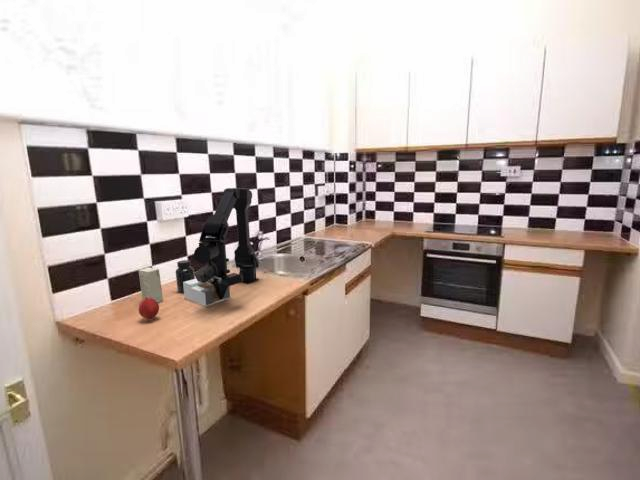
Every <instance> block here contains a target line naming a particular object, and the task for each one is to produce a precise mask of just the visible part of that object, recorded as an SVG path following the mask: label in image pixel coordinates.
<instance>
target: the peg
mask: <svg viewBox="0 0 640 480" xmlns="http://www.w3.org/2000/svg"><path fill="white" fill-rule="evenodd" d="M199 287H202V288H205V289H207V288H208V289H211V291H212V294H213V302H215V301H218V300H220V299H219V297H218V295H217V292H216V290H215V288H214V286H213V285H210V284H207V283H206V284H202V285H199Z"/></svg>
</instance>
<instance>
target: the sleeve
mask: <svg viewBox="0 0 640 480" xmlns="http://www.w3.org/2000/svg"><path fill="white" fill-rule="evenodd" d="M206 283H207V284H210V285H212V284H211V283H209V282H206ZM206 283H202V282H198V281H197V279H196V278H195V279H193V280H189V281H185V282H183V287H184V293H183V295H184V297H183V298H184V299H187V300H189V301H191V302H193V303H196V304H199V305H201V306H204V307H209V306H213V305H216V304H218V303H220V302H223V301H226V300H229V299H231V290H230V289H231V286H228V288H227V290H226V292H225V295H224V297H223V299H221V300H218V301H215V302H213V294H212V291H211V289H208V288H207V289H205V288H202V287H199V285H202V284H206Z"/></svg>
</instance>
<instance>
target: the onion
mask: <svg viewBox="0 0 640 480" xmlns="http://www.w3.org/2000/svg"><path fill="white" fill-rule="evenodd" d="M159 311H160V305H159V303H157V302H156V301H155V300H154V299H152V298H150V297H149V296H147V297H146V298H145V299H144V300H143V299H142V301H141V302H140V303H139V305H138V313H139V315H140V316H141V317H142V318H144V319H146V320H148V321H150V320H153V318H154V317H156V316H157V315H158V313H159Z"/></svg>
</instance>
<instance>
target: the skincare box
mask: <svg viewBox="0 0 640 480" xmlns="http://www.w3.org/2000/svg"><path fill="white" fill-rule="evenodd" d="M160 274H161V273H160V269H159V268H154V267H145V268H142V269H138V277H139V283H140V285H139V286H140V290H141V298H142V301H143V300H144V299H145V298H146V297H147V296H149V297H150V298H152V299H154V300H155V301H156V302H157V303H158V304H159V303H161V302H164V297H163V296H164V295H163V290H162V282H161V275H160Z"/></svg>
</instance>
